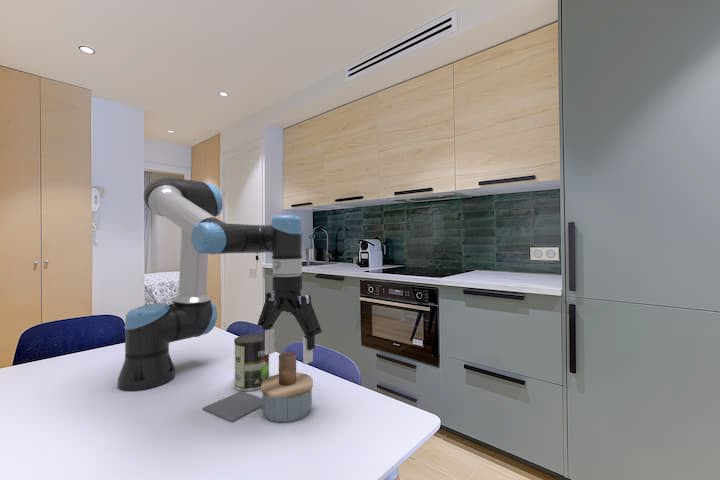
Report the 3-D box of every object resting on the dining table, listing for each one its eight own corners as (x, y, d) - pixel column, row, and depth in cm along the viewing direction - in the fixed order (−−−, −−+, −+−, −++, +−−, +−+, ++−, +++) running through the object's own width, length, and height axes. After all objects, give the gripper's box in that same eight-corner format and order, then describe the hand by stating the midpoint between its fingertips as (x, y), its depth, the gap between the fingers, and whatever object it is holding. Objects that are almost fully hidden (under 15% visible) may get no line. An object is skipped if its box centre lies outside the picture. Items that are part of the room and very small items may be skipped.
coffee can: (275, 378, 106) (275, 334, 106) (259, 392, 96) (259, 343, 96) (245, 376, 108) (245, 332, 108) (227, 389, 98) (227, 341, 98)
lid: (250, 390, 84) (250, 357, 84) (287, 373, 94) (287, 344, 95) (287, 403, 77) (287, 367, 77) (323, 383, 87) (323, 352, 88)
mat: (202, 409, 86) (202, 407, 86) (241, 392, 96) (241, 390, 96) (231, 422, 80) (231, 421, 80) (270, 402, 90) (270, 401, 90)
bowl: (253, 413, 84) (253, 390, 84) (287, 395, 94) (287, 374, 94) (287, 428, 77) (287, 402, 77) (320, 406, 87) (320, 383, 87)
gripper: (243, 274, 89) (244, 354, 89) (314, 278, 76) (316, 371, 76) (265, 272, 96) (266, 346, 95) (334, 275, 82) (335, 361, 82)
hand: (288, 357), depth 85 cm, fingers open, 13 cm apart
